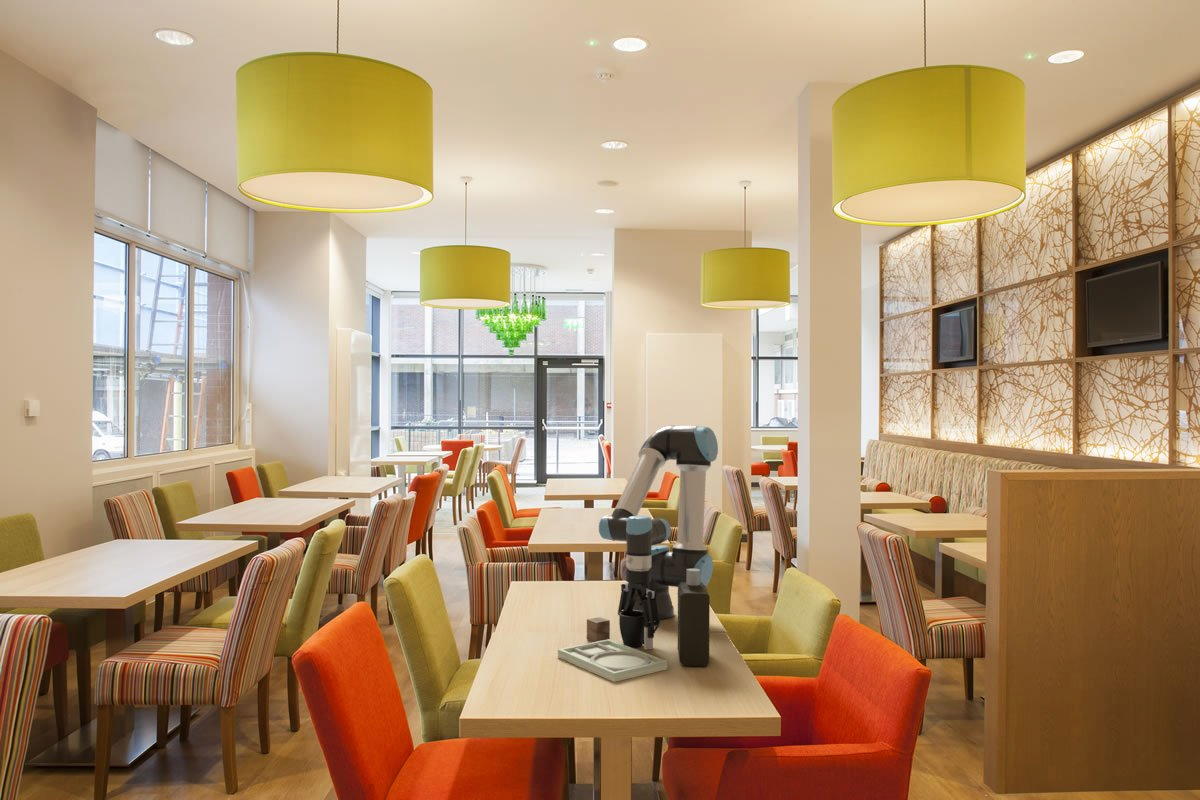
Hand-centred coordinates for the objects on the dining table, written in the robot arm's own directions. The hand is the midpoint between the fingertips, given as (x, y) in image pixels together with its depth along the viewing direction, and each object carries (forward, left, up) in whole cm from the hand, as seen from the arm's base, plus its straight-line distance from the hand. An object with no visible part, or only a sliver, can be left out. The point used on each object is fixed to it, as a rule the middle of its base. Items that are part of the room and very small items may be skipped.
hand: (637, 644), depth 244 cm
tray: (+17, +9, 0) cm, 19 cm away
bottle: (-4, +19, -1) cm, 20 cm away
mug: (0, +1, 0) cm, 1 cm away
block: (+6, -12, 0) cm, 13 cm away
